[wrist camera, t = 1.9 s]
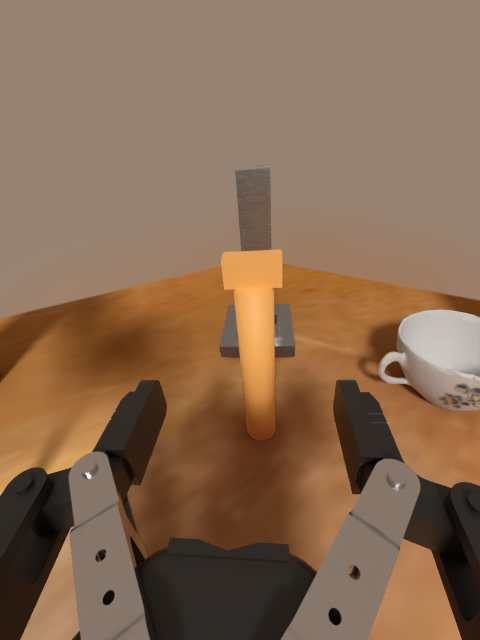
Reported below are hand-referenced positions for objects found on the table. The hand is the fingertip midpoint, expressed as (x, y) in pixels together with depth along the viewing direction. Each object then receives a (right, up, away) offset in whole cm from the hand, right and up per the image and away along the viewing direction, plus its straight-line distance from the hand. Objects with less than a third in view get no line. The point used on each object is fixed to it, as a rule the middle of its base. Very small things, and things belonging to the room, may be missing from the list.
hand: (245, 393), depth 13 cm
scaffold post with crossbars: (+3, +3, +36) cm, 37 cm away
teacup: (+23, -6, +21) cm, 32 cm away
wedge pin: (+2, -9, +19) cm, 21 cm away
